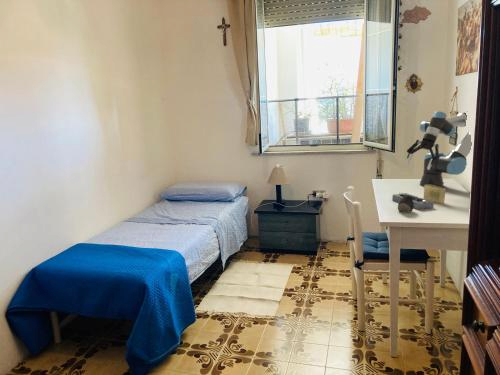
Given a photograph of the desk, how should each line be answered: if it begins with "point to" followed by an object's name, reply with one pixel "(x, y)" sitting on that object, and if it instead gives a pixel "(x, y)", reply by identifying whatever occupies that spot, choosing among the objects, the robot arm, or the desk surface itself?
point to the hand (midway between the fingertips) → (417, 166)
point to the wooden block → (434, 193)
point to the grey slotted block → (418, 202)
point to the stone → (406, 204)
